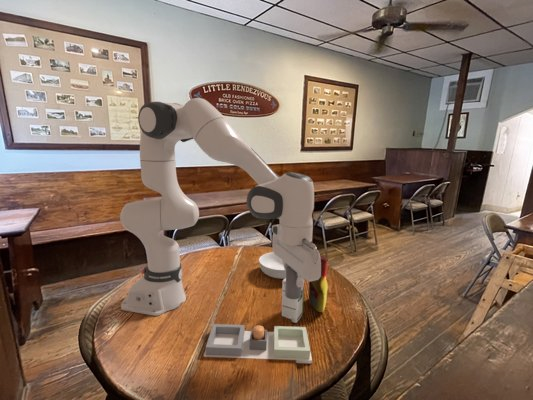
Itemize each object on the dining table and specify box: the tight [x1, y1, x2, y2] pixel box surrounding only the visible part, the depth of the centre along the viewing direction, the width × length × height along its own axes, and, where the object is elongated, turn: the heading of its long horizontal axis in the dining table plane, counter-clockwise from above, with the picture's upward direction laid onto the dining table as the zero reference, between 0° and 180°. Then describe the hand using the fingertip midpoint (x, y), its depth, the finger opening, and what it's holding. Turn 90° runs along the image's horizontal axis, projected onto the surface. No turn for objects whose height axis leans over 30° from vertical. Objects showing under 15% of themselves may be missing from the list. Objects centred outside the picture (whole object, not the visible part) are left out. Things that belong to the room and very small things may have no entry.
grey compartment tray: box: [203, 323, 313, 365], centre depth 79 cm, size 30×11×4 cm, turn 89°
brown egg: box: [253, 324, 265, 340], centre depth 78 cm, size 3×3×4 cm
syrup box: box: [281, 278, 305, 324], centre depth 92 cm, size 6×6×14 cm
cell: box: [285, 266, 301, 299], centre depth 75 cm, size 4×4×9 cm
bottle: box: [308, 254, 329, 313], centre depth 98 cm, size 12×6×20 cm, turn 178°
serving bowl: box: [258, 251, 286, 280], centre depth 124 cm, size 21×21×7 cm
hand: (293, 280), depth 75 cm, fingers closed on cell, 4 cm apart
